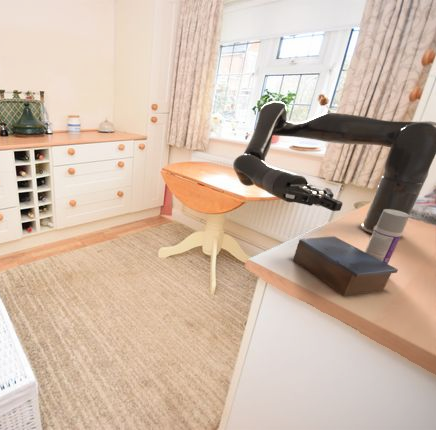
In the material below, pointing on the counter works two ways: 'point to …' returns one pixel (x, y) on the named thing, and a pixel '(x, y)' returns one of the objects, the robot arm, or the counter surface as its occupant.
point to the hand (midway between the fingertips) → (338, 207)
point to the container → (387, 234)
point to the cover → (348, 256)
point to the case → (338, 274)
